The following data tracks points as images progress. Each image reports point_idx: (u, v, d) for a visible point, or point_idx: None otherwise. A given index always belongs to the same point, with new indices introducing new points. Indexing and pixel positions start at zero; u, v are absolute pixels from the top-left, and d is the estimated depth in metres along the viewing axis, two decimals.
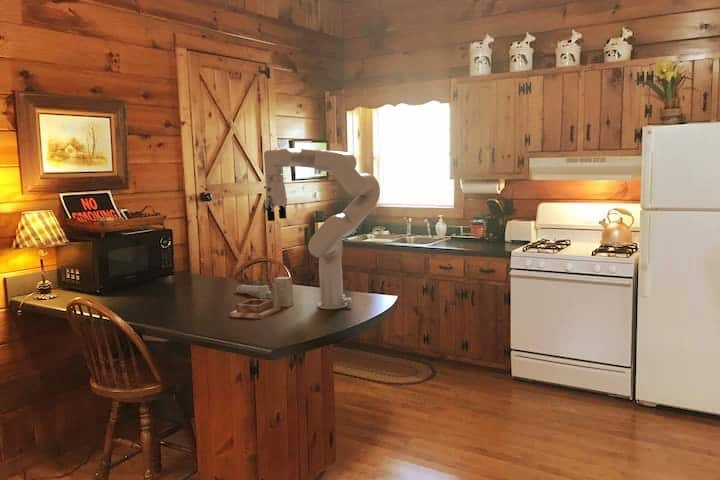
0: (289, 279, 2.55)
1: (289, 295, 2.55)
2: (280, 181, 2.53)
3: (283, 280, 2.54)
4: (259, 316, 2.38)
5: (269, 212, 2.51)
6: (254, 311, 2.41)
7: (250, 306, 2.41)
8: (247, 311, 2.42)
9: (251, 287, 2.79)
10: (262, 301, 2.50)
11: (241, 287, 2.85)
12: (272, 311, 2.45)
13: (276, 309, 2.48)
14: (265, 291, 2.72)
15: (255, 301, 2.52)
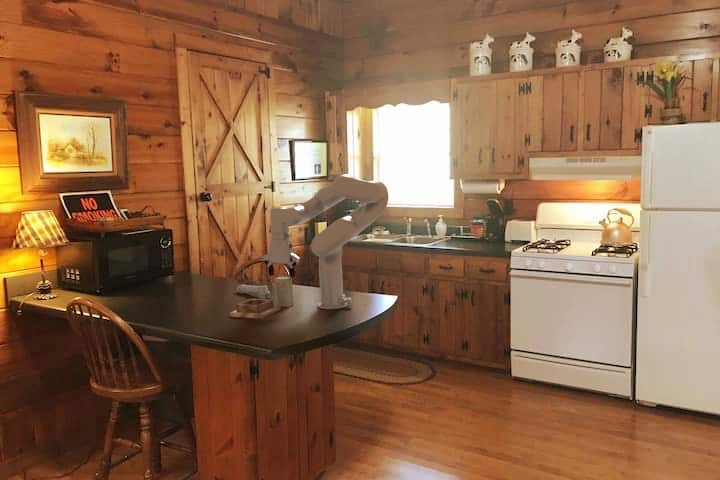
0: (289, 279, 2.55)
1: (289, 295, 2.55)
2: None
3: (283, 280, 2.54)
4: (259, 316, 2.38)
5: (293, 268, 2.54)
6: (254, 311, 2.41)
7: (250, 306, 2.41)
8: (247, 311, 2.42)
9: (251, 287, 2.79)
10: (262, 301, 2.50)
11: (241, 287, 2.85)
12: (272, 311, 2.45)
13: (276, 309, 2.48)
14: (264, 291, 2.72)
15: (255, 301, 2.52)
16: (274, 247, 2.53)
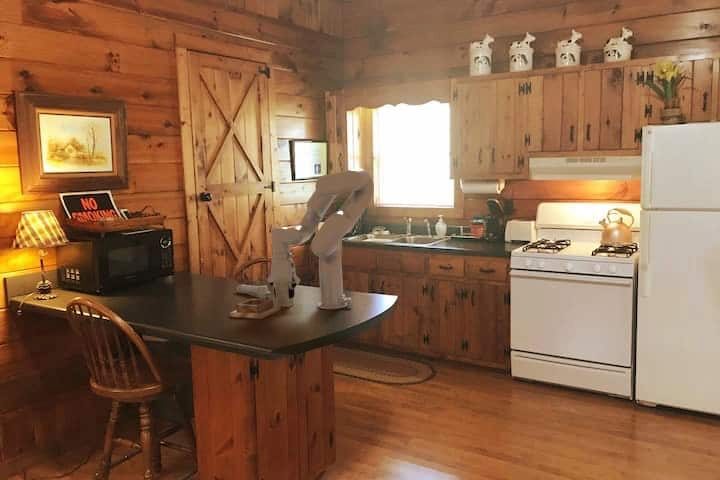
0: None
1: None
2: None
3: (283, 280, 2.54)
4: (259, 316, 2.38)
5: (293, 289, 2.55)
6: (254, 311, 2.41)
7: (250, 306, 2.41)
8: (247, 311, 2.42)
9: (251, 287, 2.80)
10: (262, 301, 2.50)
11: (241, 287, 2.86)
12: (272, 311, 2.45)
13: (276, 309, 2.48)
14: (264, 291, 2.72)
15: (255, 301, 2.52)
16: (276, 267, 2.54)
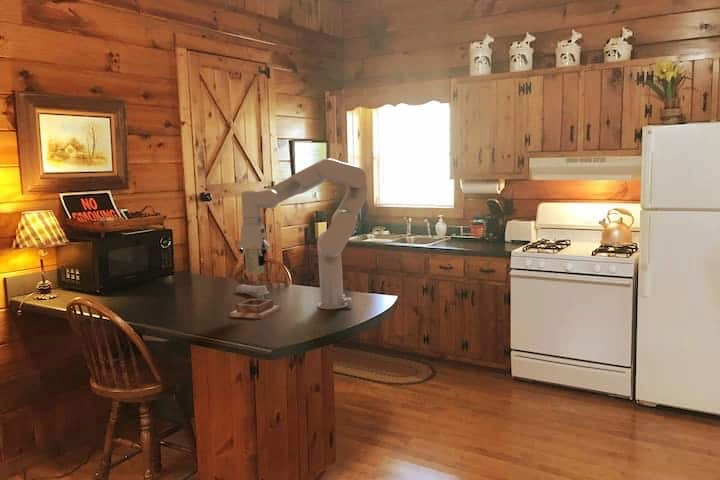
0: None
1: None
2: None
3: None
4: (259, 316, 2.38)
5: (263, 256, 2.44)
6: (254, 311, 2.41)
7: (250, 306, 2.41)
8: (247, 311, 2.42)
9: (250, 287, 2.80)
10: (262, 301, 2.50)
11: (241, 287, 2.86)
12: (272, 311, 2.45)
13: (276, 309, 2.48)
14: (263, 291, 2.71)
15: (255, 301, 2.52)
16: (246, 232, 2.42)
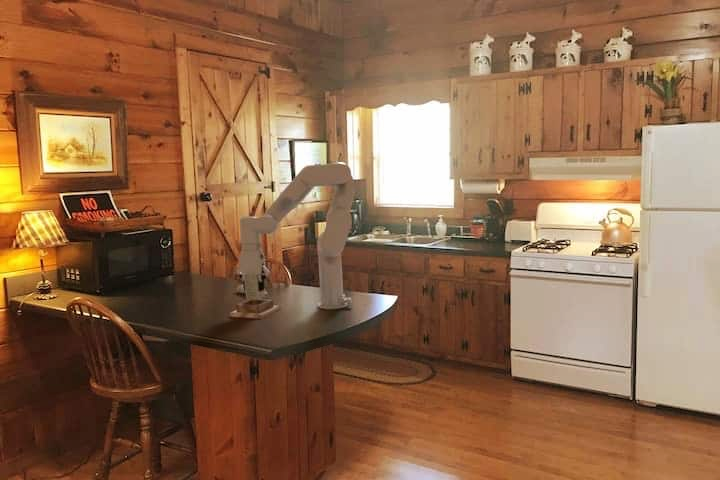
0: None
1: (258, 288, 2.44)
2: None
3: (252, 272, 2.43)
4: (259, 316, 2.38)
5: (263, 282, 2.44)
6: (254, 311, 2.41)
7: (250, 306, 2.41)
8: (247, 311, 2.42)
9: None
10: (262, 301, 2.50)
11: (241, 287, 2.86)
12: (272, 311, 2.45)
13: (276, 309, 2.48)
14: None
15: (255, 301, 2.52)
16: (245, 258, 2.43)
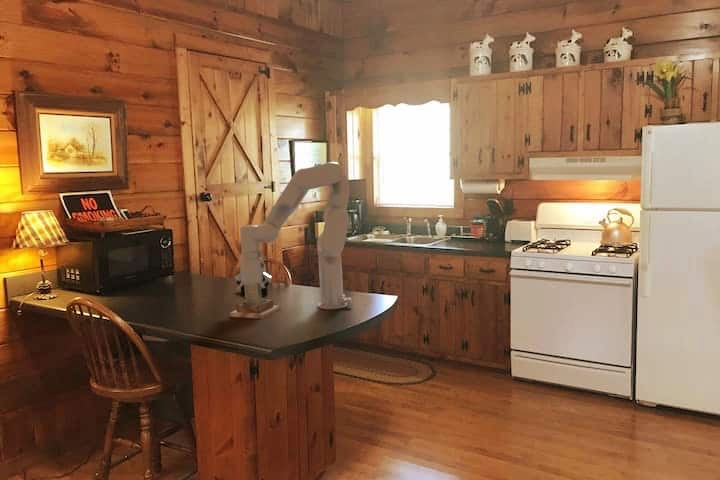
0: None
1: (259, 299, 2.45)
2: None
3: (253, 283, 2.43)
4: (259, 316, 2.38)
5: (266, 288, 2.44)
6: (254, 311, 2.41)
7: (250, 306, 2.41)
8: (247, 311, 2.42)
9: None
10: None
11: None
12: (272, 311, 2.45)
13: (276, 309, 2.48)
14: None
15: None
16: (246, 267, 2.43)
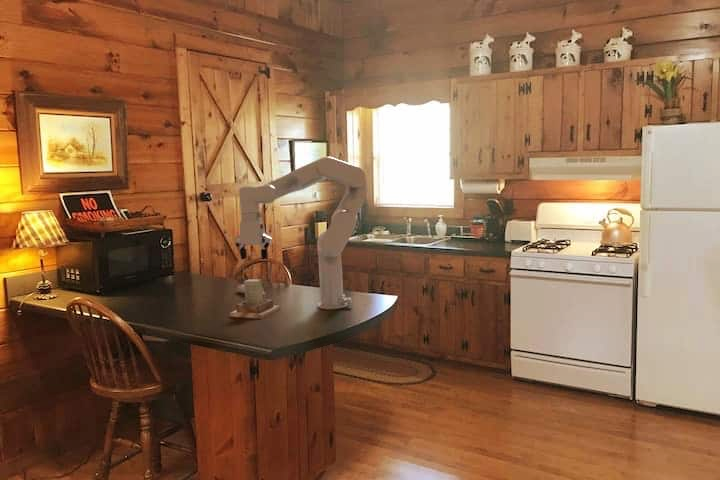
0: (259, 281, 2.45)
1: (259, 299, 2.45)
2: None
3: (253, 283, 2.43)
4: (259, 316, 2.38)
5: (265, 249, 2.43)
6: (254, 311, 2.41)
7: (250, 306, 2.41)
8: (247, 311, 2.42)
9: None
10: None
11: (241, 287, 2.86)
12: (272, 311, 2.45)
13: (276, 309, 2.48)
14: None
15: None
16: (245, 228, 2.42)
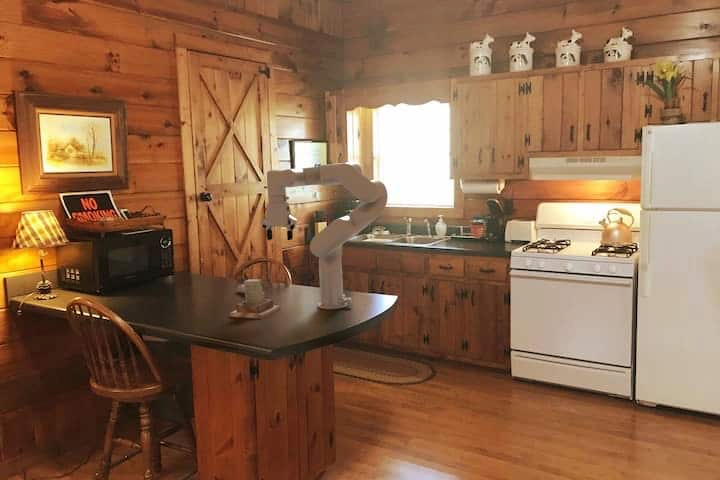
0: (259, 281, 2.45)
1: (259, 299, 2.45)
2: None
3: (253, 283, 2.43)
4: (259, 316, 2.38)
5: (291, 231, 2.53)
6: (254, 311, 2.41)
7: (250, 306, 2.41)
8: (247, 311, 2.42)
9: None
10: None
11: (241, 287, 2.86)
12: (272, 311, 2.45)
13: (276, 309, 2.48)
14: None
15: None
16: (272, 210, 2.52)
